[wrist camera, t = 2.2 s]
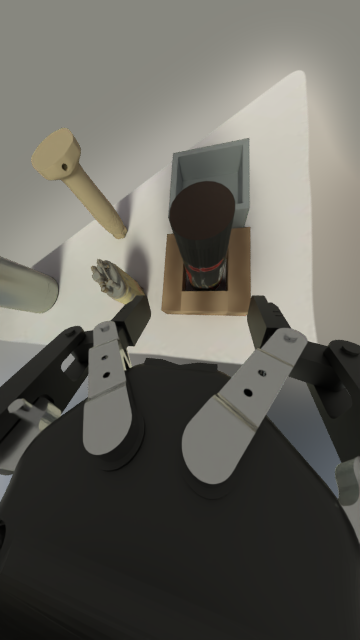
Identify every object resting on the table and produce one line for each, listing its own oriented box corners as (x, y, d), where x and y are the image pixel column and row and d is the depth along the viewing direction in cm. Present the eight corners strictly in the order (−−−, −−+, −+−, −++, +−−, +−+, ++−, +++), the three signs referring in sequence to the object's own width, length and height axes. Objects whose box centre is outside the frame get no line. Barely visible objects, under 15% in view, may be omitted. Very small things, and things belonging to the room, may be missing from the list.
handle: (105, 235, 34) (26, 156, 19) (127, 217, 33) (63, 121, 19) (115, 249, 33) (39, 177, 18) (137, 231, 32) (78, 141, 18)
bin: (174, 237, 30) (168, 217, 25) (178, 181, 32) (173, 153, 27) (242, 231, 28) (249, 208, 23) (242, 171, 29) (249, 137, 25)
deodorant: (219, 295, 27) (230, 241, 12) (187, 291, 28) (163, 239, 14) (224, 264, 28) (240, 179, 13) (192, 262, 29) (175, 182, 14)
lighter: (120, 286, 31) (80, 261, 22) (135, 275, 31) (100, 245, 21) (136, 313, 30) (100, 299, 20) (151, 302, 29) (123, 283, 20)
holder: (167, 314, 28) (161, 310, 25) (171, 246, 30) (167, 234, 27) (245, 315, 26) (250, 312, 22) (245, 241, 27) (250, 226, 24)
